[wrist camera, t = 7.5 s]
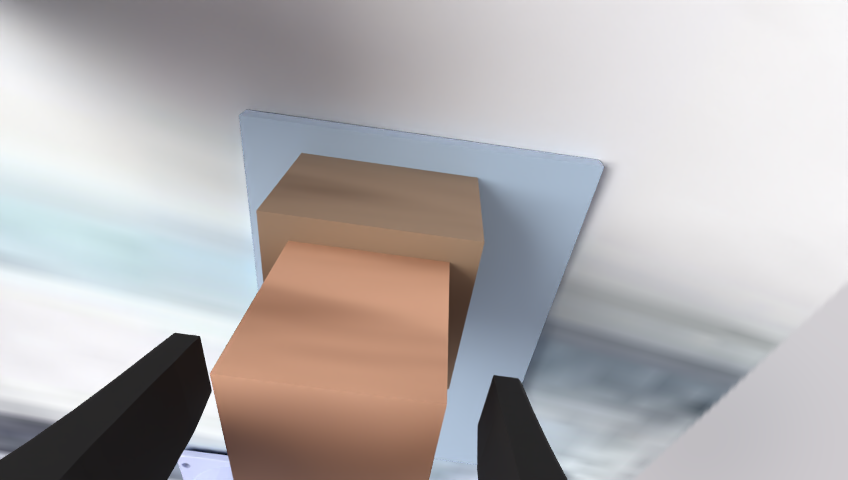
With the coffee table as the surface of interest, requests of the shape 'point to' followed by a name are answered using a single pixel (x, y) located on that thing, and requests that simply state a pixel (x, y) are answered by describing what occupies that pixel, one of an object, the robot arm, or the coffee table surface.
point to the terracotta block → (337, 368)
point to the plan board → (502, 225)
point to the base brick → (380, 220)
